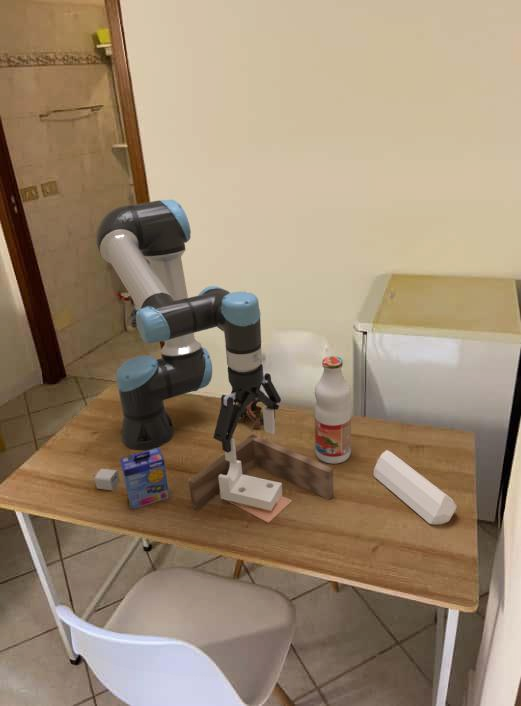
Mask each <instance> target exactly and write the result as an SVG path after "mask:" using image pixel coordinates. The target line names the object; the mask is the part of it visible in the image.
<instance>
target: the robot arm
mask: <svg viewBox="0 0 521 706" xmlns="http://www.w3.org/2000/svg"><path fill="white" fill-rule="evenodd" d="M189 222H190V221H189V219H188V216H187V214H186V212H185V210H184V208H183V207H182V206H181V204H180V203H179V202H178V201H176V200H174V199H163V200H162V199H159V200H154V201H153V200H152V201H147V202H141V203H138V204H132V205H122V206H119V207H116V208H114V209H112V210H111V211H109V212H108V213H107V214H106V215H105V216H104V217H103V218H102V219H101V221H100V222H99V225H98V227H97V231H96V237H95V241H96V242H95V243H96V246H97V250H98V252H99V253H100V256H101V257H102V259H103V260H105V262H107V263H108V264H111V265H112V267H113V269H114V271H115V272H116V274H117V275H118V277H119V278H120V280H121V282H122V284H123V285H124V287H125V289H126V291H127V292H128V294H129V295H130V298H131V299H132V300H133V302H134V304H135V305H136V307H137V308H138V309H137V310H136V312H135V322H136V328H137V331H138V332H139V336H140V338H141V340H142V341H143V342H144V343H145V344H154V343H159V342H164V345H163V347H162V348H161V349H160V354H161V358H158V359H157V358H155V356H153V355H147V354H146V355H145V356H144V355H137V356H135V357H133V358H130V359H128V360H126V361H124V362H123V363H121V365H120V366H119V367H118V369H117V370H116V375H115V376H116V377H115V378H116V388H117V390H118V395H119V400H120V404H121V409H122V415H123V418H122V425H121V426H122V427H121V430H120V437H121V440H122V443H123V445H125V447H127V448H129V449H131V450H138V451H139V450H151V449H154V448H159V447H160V446H162V445H165V444H166V443H167V442H169V441H170V440H171V439H172V437H173V436H174V434H175V426H174V422H173V420H172V419H171V417H170V415H169V414H168V411H167V410H166V408H165V404H164V401H165V400H169V399H172V398H175V397H178V396H181V395H185V394H189V393H191V392H197V391H198V390H200V389H203V388H207V386H208V385H210V383H211V381H212V377H213V364H212V359H211V358H210V357H211V355H210V353H209V351H208V349H206V348H205V347H202V343H201V342H200V341H198V340H196V338H195V333H198V332H201V331H205V330H209V329H215V328H217V329H219V330H221V332H223V334H224V341H225V342H224V343H225V353H226V366H227V376H228V382H229V384H230V386H231V393H230V394H227V395H226V394H222V395H221V397H220V401H221V402H220V409H219V412H218V416H217V421H216V425H215V429H214V434H213V439H215V440H216V441H218V442H220V443H221V446H222V450H223V452H224V454H225V460H227V461H229V462H231V463H233V464H235V463H237V460H236V449H235V446H236V441H235V437H233V436H234V433H235V431H236V428H237V425H238V423H239V420H240V419H241V418H240V416H241V413H242V412H244V411H245V409H246V406H248V405H249V404H250V403H251V402H254V401H255V400H256V398H257V399H258V400H259V401H261V403H262V405H264V407H262V414H263V416H262V417H263V418H264V426H263V431H264V432H266V433H268V434H269V435H271V436H272V435H275V434H276V428H275V427H276V426H275V423H276V422H275V419H276V410H279V408H280V405H278V404H280V403H282V402H281V401H282V398H281V397H280V395H279V393H278V391H277V389H276V387H275V385H274V384H273V381H272V376H271V374H270V373H268V372H265V371H264V367H263V366H264V365H263V355H262V354H263V353H262V329H261V326H262V325H261V309H260V305H259V302H260V301H259V298H258V297H257V295H255V293H252V292H247V291H234V292H230V291H228V290H227V289H225V288H223V287H220V286H217V285H212V286H211V285H210V286H207V287H205V288H204V289H202V290H201V291H200V292H199V293H198V295H196V296H190V297H189V296H188V290H187V283H186V279H185V273H184V267H183V266H184V265H183V259H182V256H183V255H184V253H185V252H186V245H185V243H188V242H190V240H191V226H190V223H189ZM261 387H262V388H263V390H264V392H263V391H262V390H261ZM236 404H240V405H241V407H239V406H237V405H236Z"/></svg>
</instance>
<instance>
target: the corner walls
mask: <svg viewBox="0 0 521 706" xmlns="http://www.w3.org/2000/svg"><path fill="white" fill-rule="evenodd" d="M235 449H236V460H238V461H241V466H242V474H243V475H245V473H247V472H249V470H251V469H252V468H254V467H255V466H256V467H258V468H261V469H263V470H265V471H267V472H269V473H271V474H274V475H276V476H278V477H280V478H282V479H284V480H286V481H288V482H290V483H293V484H294V485H296V486H299V487H300V488H304V489H306V490H308V491H310V492H312V493H314V494H316V495H319V496H320V497H322V498H325V499H327V500H330V499H332V498H333V497H334V468H332V467H330V466H328V465H325V464H323V463H320V462H319V461H317V460H314V459H311V458H308V457H307V456H305V455H302V454H299V452H298V453H297V452H295V451H292V450H290V449H288V448H286V447H283V446H281V445H278V444H276V443H275V442H274V443H273V442H272V441H269V440H266V439H264V438H262V437H259V436H258V435H255V434H253V433H252V434H251V435H249V436H248V437H247V438H245V439H244V440H242V441H241V442H240V443H238V444H236V445H235ZM229 467H230V462H229V461H227V460H225V453H224V454H223V455H221V456H220V457H218V458H217V459H216V460H215V461H212V463H210V464H209V465H208V466H206V467H205V468H203V469H202V470H201V471H199V472H198V473H196V474H195V475H194V476H192V477H191V478H190V479H188V489H189V494H190V500H191V507H192V508H193V509H195V510H196V511H198V510H199V509H201V508H202V507H204V506H205V505H206V504H207V503H209V501H211V500H212V499H214V498H215V497H216V496H217V495H220V486H219V478H218V476H219V475H220V474H222V475H226V476H227V474H228V471H229Z"/></svg>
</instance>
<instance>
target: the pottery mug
mask: <svg viewBox="0 0 521 706" xmlns="http://www.w3.org/2000/svg"><path fill="white" fill-rule="evenodd" d="M260 402H261V401H259V400H258V399H257V398H256V400H255V401H254V402H251V403H250V404H249V405H248V406H246V409H245V411H244V412H242V413H241V416H240V418H239V419H241V420H242V421H244V418H246V417H248V418H249V419H250V420H251V421H252V422H254V423H253V425H252V427H253V429H255V430H259V429H260V428H261V427H264V418H263V416H259V418H257V415H256V414H255V412H256V413H261V411H262V410H263V407H261V406H259V405H257V404H258V403H260ZM261 403H262V402H261ZM236 405H237V406H239V407H241V405H240V404H238V403H236Z"/></svg>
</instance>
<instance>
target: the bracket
mask: <svg viewBox="0 0 521 706" xmlns="http://www.w3.org/2000/svg"><path fill="white" fill-rule="evenodd" d="M218 478H219V486H220V493H219V495H220V499H221V500H224V499H225V500H224V501H226V500H229V501H233V502H237V503H241V504H245V505H249V506H253V507H257V508H261V509H266V510H270V511H271V510H272V508H273V507H274V505H275V504H277V503H278V501H279V500H280V498H281V496H283V485H282V484H283V483H282V482H278V481H273V480H269V479H264V478H260V477H255V476H251V475H247V474H242V466H241V461H238V460H237V463H235V464H233V463H231V462H230V467H229V471H228V474H227V476H226V475H222V474H220V475H219V476H218Z"/></svg>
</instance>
